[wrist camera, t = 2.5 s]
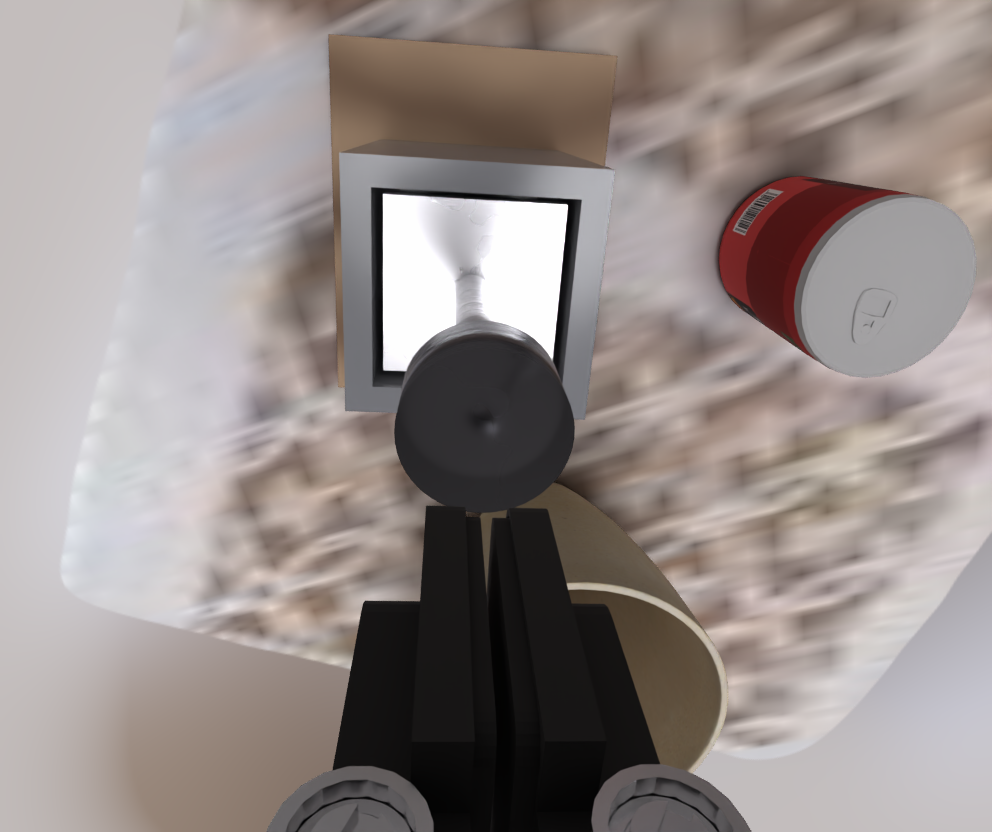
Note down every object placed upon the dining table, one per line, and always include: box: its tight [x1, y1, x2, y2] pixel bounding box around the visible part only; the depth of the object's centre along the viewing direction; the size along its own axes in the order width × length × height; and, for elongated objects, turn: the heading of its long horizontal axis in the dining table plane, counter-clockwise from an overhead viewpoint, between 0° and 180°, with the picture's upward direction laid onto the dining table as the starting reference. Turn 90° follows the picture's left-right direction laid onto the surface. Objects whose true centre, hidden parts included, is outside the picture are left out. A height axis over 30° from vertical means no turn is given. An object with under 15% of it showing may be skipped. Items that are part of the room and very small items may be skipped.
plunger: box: [383, 192, 575, 513], centre depth 20 cm, size 6×6×13 cm
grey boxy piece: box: [339, 139, 615, 420], centre depth 31 cm, size 12×9×14 cm
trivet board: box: [329, 34, 617, 387], centre depth 38 cm, size 18×14×2 cm
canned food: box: [719, 176, 976, 378], centre depth 35 cm, size 8×8×11 cm
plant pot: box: [480, 483, 728, 773], centre depth 39 cm, size 15×15×16 cm
